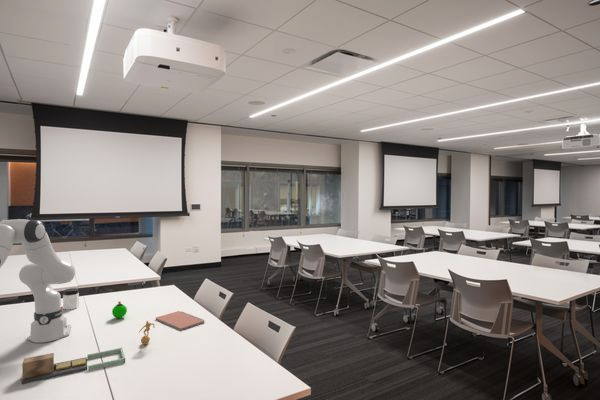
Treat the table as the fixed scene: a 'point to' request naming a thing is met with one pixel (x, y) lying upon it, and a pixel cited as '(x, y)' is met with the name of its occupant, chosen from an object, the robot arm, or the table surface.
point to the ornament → (119, 310)
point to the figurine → (145, 338)
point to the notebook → (180, 320)
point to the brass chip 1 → (63, 366)
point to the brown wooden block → (38, 365)
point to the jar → (71, 299)
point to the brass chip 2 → (78, 362)
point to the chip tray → (108, 363)
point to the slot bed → (56, 373)
